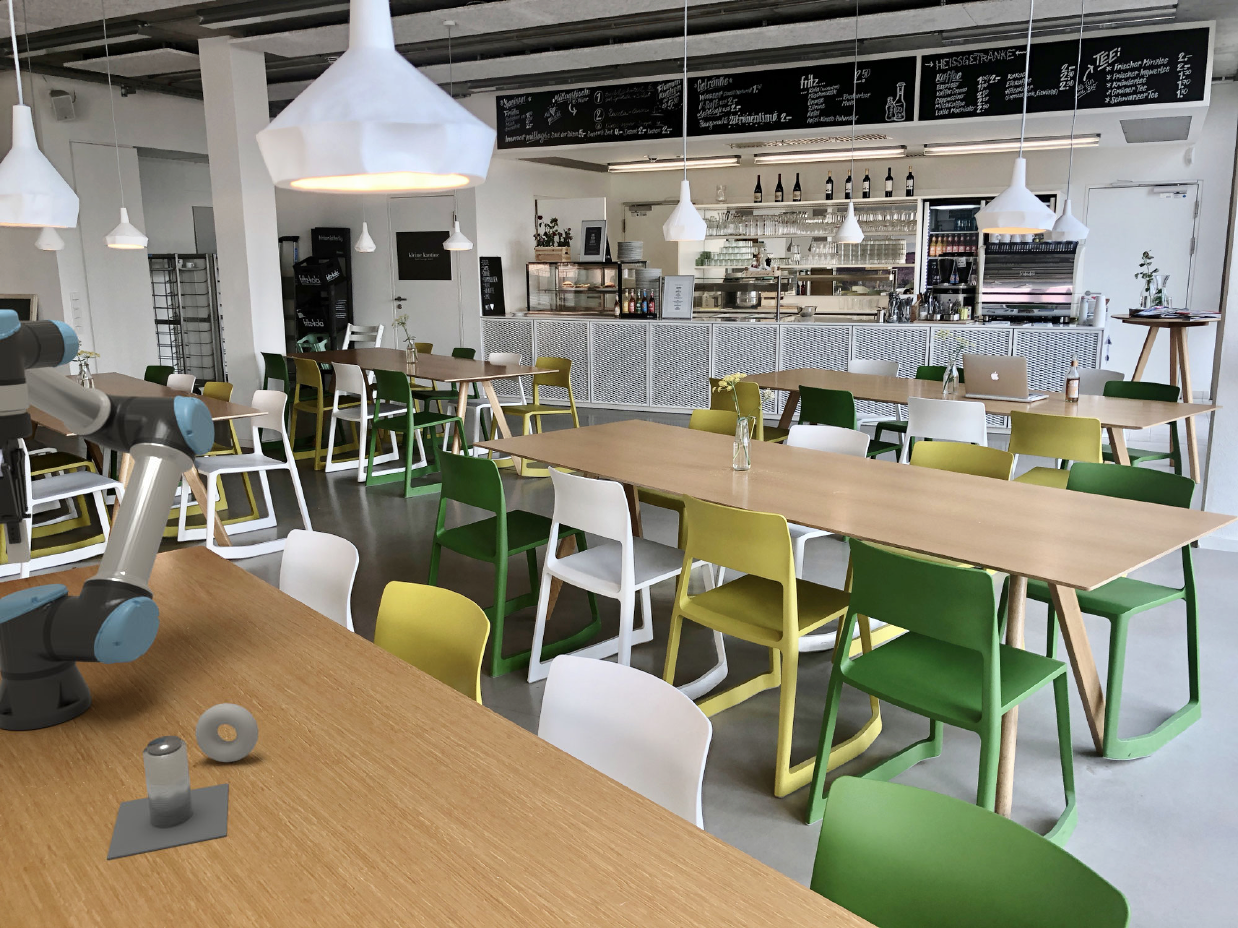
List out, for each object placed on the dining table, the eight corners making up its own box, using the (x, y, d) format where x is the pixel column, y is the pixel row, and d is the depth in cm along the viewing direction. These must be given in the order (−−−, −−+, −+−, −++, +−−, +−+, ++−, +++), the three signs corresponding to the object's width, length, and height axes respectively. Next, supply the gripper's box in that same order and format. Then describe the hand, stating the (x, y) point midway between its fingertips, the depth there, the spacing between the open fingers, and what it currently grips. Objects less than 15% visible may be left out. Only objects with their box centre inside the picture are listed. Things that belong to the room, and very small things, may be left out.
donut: (263, 754, 154) (259, 698, 152) (256, 765, 150) (251, 708, 148) (203, 756, 153) (197, 699, 151) (194, 766, 150) (188, 709, 148)
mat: (120, 803, 139) (120, 802, 139) (228, 784, 144) (228, 782, 144) (106, 859, 125) (106, 858, 125) (226, 836, 131) (226, 834, 131)
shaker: (152, 810, 137) (144, 737, 134) (193, 802, 139) (186, 730, 136) (148, 831, 131) (140, 755, 129) (191, 823, 133) (184, 748, 131)
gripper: (-18, 408, 145) (1, 553, 149) (-41, 419, 133) (-20, 576, 137) (38, 406, 147) (55, 548, 152) (19, 416, 135) (38, 570, 140)
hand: (19, 561), depth 144 cm, fingers closed
